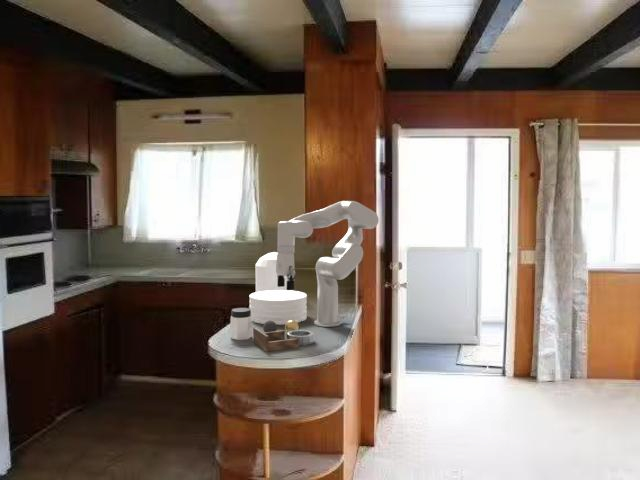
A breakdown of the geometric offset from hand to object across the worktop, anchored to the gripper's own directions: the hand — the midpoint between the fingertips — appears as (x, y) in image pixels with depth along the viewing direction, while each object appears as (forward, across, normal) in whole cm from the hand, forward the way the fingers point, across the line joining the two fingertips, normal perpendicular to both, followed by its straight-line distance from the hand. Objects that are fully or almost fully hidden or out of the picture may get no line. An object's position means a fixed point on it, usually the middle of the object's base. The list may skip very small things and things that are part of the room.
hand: (285, 288), depth 245 cm
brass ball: (+16, +4, +1) cm, 17 cm away
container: (+19, -64, +23) cm, 71 cm away
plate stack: (+20, -27, +8) cm, 34 cm away
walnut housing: (+20, +17, -12) cm, 29 cm away
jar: (+20, 0, -20) cm, 29 cm away
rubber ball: (+17, +1, -8) cm, 18 cm away
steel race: (+20, +18, -1) cm, 26 cm away
